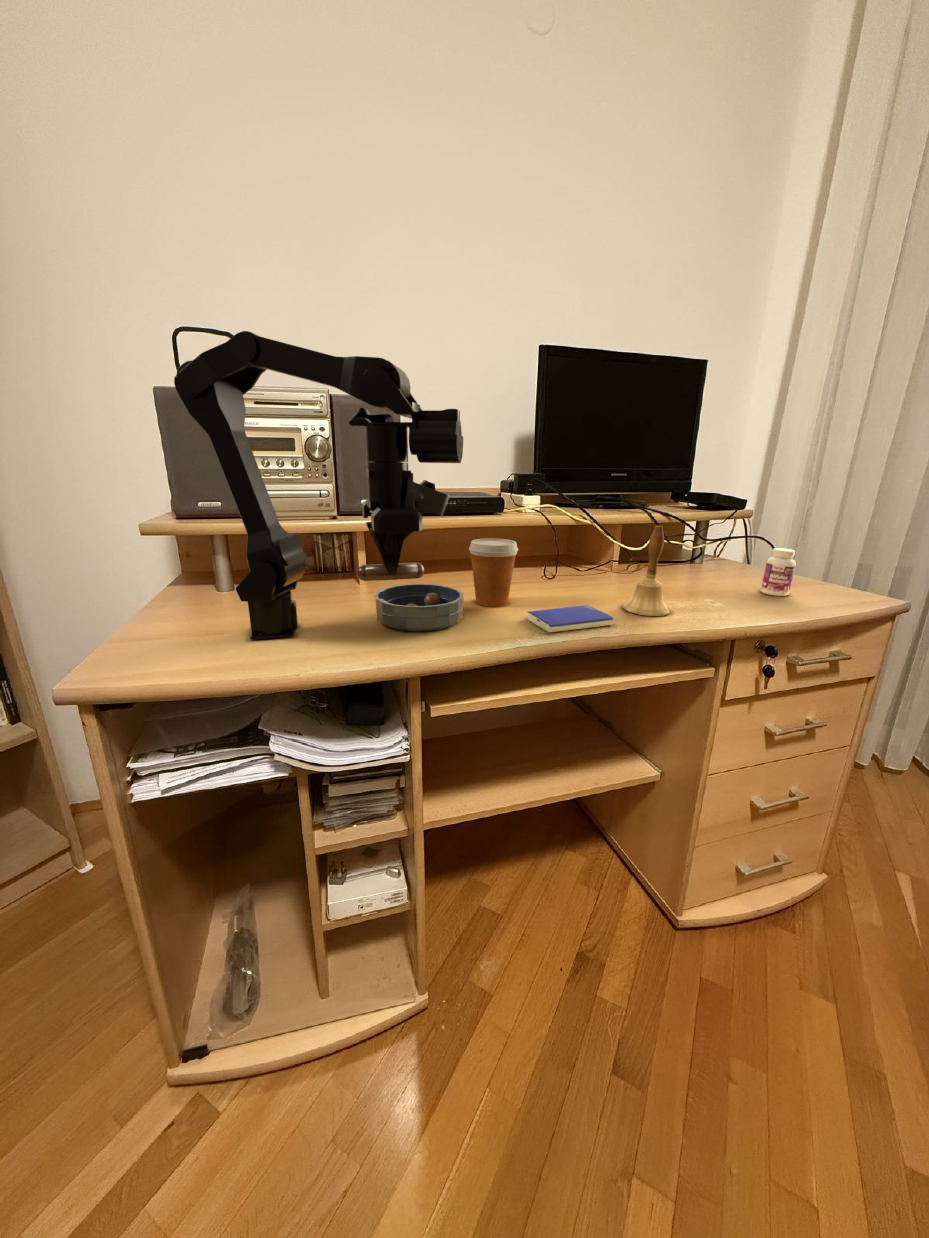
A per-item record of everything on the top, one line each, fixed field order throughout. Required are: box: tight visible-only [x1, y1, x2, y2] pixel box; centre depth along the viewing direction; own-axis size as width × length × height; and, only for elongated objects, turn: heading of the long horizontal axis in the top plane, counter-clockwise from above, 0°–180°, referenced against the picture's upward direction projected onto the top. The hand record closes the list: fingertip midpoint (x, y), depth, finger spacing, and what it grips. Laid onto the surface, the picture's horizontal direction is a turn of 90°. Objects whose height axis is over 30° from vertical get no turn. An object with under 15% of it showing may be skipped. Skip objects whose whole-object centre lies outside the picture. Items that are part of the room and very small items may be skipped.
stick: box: [356, 562, 426, 582], centre depth 72 cm, size 10×2×2 cm, turn 106°
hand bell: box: [622, 525, 670, 617], centre depth 91 cm, size 8×8×16 cm
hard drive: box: [526, 604, 614, 633], centre depth 86 cm, size 2×8×12 cm
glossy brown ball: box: [424, 593, 441, 606], centre depth 89 cm, size 3×3×3 cm
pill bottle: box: [760, 547, 797, 597], centre depth 106 cm, size 5×5×10 cm
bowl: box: [373, 583, 464, 632], centre depth 85 cm, size 15×15×4 cm
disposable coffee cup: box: [468, 537, 520, 608], centre depth 95 cm, size 10×10×12 cm
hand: (391, 572), depth 73 cm, fingers closed on stick, 2 cm apart
